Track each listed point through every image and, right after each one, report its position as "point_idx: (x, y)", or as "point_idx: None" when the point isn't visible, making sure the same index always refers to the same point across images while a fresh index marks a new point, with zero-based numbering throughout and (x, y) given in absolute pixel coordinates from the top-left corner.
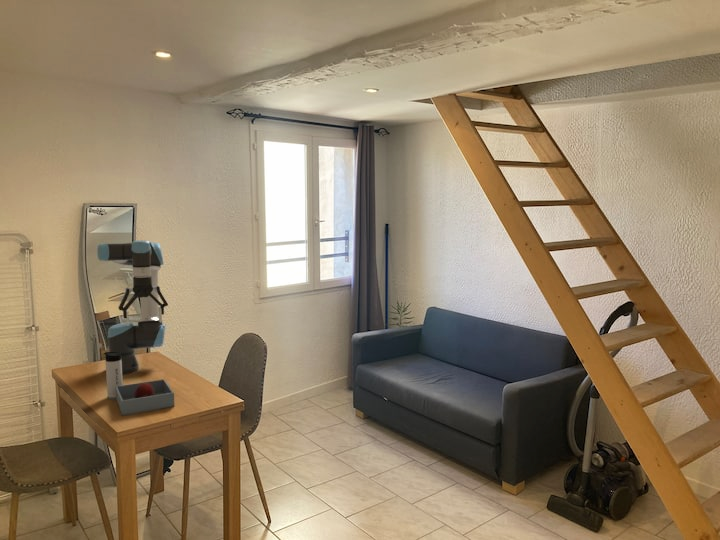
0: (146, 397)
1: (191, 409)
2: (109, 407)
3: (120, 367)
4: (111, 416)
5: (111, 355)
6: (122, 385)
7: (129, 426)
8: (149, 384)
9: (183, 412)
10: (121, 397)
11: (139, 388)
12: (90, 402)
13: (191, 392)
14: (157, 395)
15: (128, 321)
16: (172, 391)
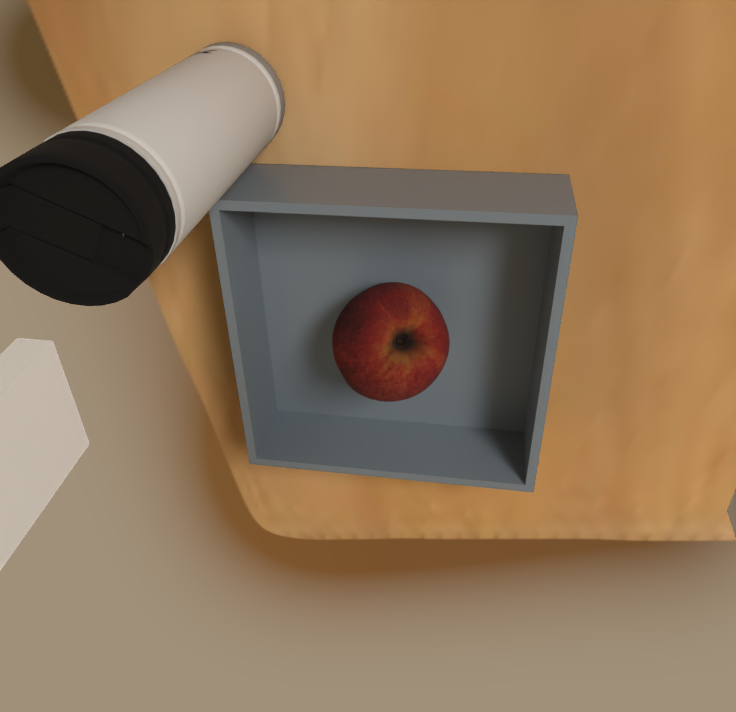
0: (377, 475)
1: (591, 501)
2: (207, 270)
3: (196, 224)
4: (223, 392)
5: (61, 268)
6: (255, 203)
7: (296, 519)
8: (417, 383)
9: (542, 511)
10: (248, 415)
11: (351, 383)
12: None
13: (726, 275)
14: (437, 482)
15: (29, 513)
16: (533, 472)
